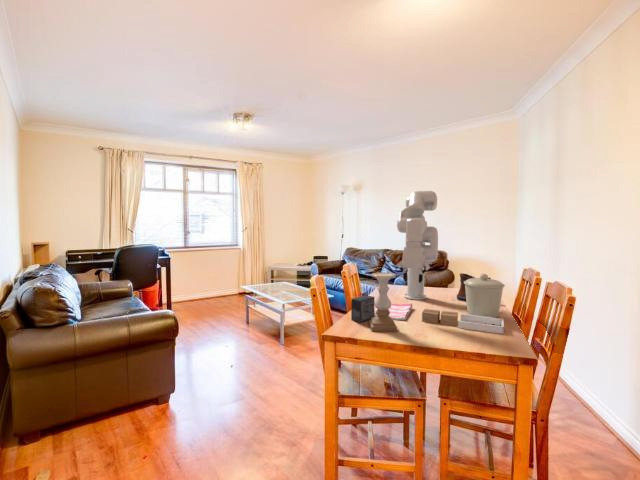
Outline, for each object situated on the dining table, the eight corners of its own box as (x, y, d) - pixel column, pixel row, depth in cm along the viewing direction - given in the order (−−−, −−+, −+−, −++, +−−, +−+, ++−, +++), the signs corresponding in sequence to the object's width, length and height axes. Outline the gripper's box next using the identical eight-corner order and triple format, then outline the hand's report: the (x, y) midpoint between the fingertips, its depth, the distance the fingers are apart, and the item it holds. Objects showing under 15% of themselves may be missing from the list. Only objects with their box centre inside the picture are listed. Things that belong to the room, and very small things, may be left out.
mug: (491, 300, 203) (492, 274, 202) (488, 304, 194) (489, 278, 193) (458, 296, 213) (459, 271, 212) (454, 300, 204) (454, 274, 203)
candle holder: (368, 323, 161) (369, 271, 159) (392, 323, 161) (393, 272, 159) (371, 331, 150) (372, 276, 148) (397, 332, 150) (398, 276, 148)
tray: (460, 319, 167) (461, 313, 167) (503, 325, 159) (503, 318, 159) (458, 327, 156) (458, 321, 155) (503, 334, 148) (504, 327, 147)
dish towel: (413, 309, 186) (413, 303, 186) (405, 322, 165) (405, 314, 165) (381, 306, 193) (381, 299, 193) (369, 317, 172) (370, 310, 172)
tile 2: (441, 319, 168) (442, 310, 167) (457, 321, 165) (457, 312, 165) (440, 324, 161) (440, 314, 161) (456, 326, 159) (457, 316, 158)
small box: (364, 315, 174) (364, 294, 173) (375, 318, 169) (375, 296, 169) (350, 319, 167) (350, 298, 166) (361, 323, 162) (361, 300, 161)
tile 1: (424, 317, 171) (424, 308, 171) (439, 319, 168) (440, 310, 168) (421, 321, 165) (422, 312, 164) (437, 323, 162) (437, 314, 161)
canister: (507, 316, 173) (509, 273, 171) (496, 324, 160) (498, 278, 158) (469, 309, 185) (471, 269, 183) (456, 316, 172) (458, 274, 170)
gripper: (433, 244, 167) (432, 282, 169) (397, 243, 175) (396, 279, 176) (431, 246, 161) (430, 285, 162) (393, 244, 168) (393, 281, 170)
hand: (412, 281), depth 169 cm, fingers open, 6 cm apart
